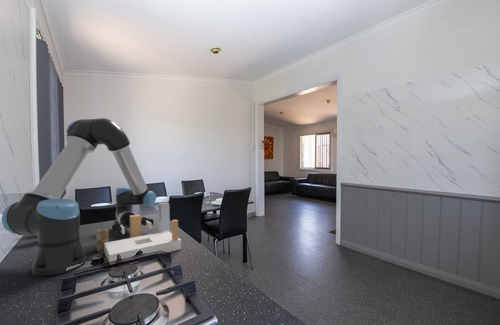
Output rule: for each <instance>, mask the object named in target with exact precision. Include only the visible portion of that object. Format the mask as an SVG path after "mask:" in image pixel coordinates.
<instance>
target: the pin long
mask: <svg viewBox="0 0 500 325" xmlns="http://www.w3.org/2000/svg"><path fill="white" fill-rule="evenodd" d="M170 213H171V212H170V203H169V202H159V203H158V233H160V232H165V231H169V232H171V225H170V224H171V219H170Z"/></svg>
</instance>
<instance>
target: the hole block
mask: <svg viewBox="0 0 500 325" xmlns="http://www.w3.org/2000/svg"><path fill="white" fill-rule="evenodd" d="M170 222H171V231H170V232H169V231H165V232H160V233H159V232H155V233H150V234H145V235H141V236H138V237H133V238H130V237H128V238H123V239H117V240H113V241H109V242H106V243H104V250H103V251H104V255H105V258H106V257H107V258H108V259H109V261H113V260H116V259H117V255H118V254H119V255H120V256H121V258H127V257H131V256H134V255H136V253H137V252H138V251H140V250H141V251H142V252H143V253H147V252H154V251H158V250H162V251H165V252H167V253H170V252H171V253H172V252H174V251H179V250H182V239H181V238H179V220H178V219H172V220H171V219H170ZM107 258H106V259H107Z"/></svg>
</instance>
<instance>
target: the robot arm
mask: <svg viewBox="0 0 500 325" xmlns="http://www.w3.org/2000/svg"><path fill="white" fill-rule="evenodd" d="M65 133H66V138H65V141H66V144H65V146H64V147H63V149H62V150H61V151H60V153H59V155H58V156H57V157H56V158H55V160H54V162H53V163H52V164H51V166H50V167H49V168H48V170H47V171H46V172H45V174H44V175H43V176H42V177H41V179H40V181H39V182H38V183H37V185H36V186H35V188H34V189H33V190H32V191H29V192H25V193H24V195H23V196H22V197H21V199H20V200H19V201H16V202H14V203H12V204H10V205H8V206H7V207H6V208H5V209H4V210H3V212H2V215H1V223H2V226H3V228H4V229H5V230H6V231H7V232H9V233H12V234H15V235H18V236H35V237H37V245H38V246H37V247H38V248H37V251H36V254H35V257H34V260H33V262H32V264H31V274H32V275H33V276H36V277H38V276H39V277H49V276H55V275H59V274H64V273H67V272H66V269H67V267H70V266H74V265H77V264H81V263H84V262H85V263H86V262H87V254H86V252H85V250H84V248H83V245H82V243H81V240H80V239H81V238H80V236H81V234H80V229H81V228H80V225H81V223H80V221H81V220H80V208H79V203H78V202H77V201H76V200H74V199H69V198H68V199H67V198H61V197H62V195H63V193H64V192H65V190H66V188H67V186H69V184H70V182H71V181H72V179H73V178H74V176H75V175H76V172H77V171H78V169H79V168H80V166H81V165H82V163H83V162H84V161H85V159H86V157H87V156H88V154H92V153H94V152H95V150H96V148H97V147H98V145H104V146H106V148H107V150H108V151H109V152H111V153H112V154H113V157H114V159H115V161H116V162H117V166H119V168H120V171H121V172H122V175H123V177H124V179H125V181H126V182H127V185H128V186H119V187H117V188H116V189H115V203H116V204H115V206H116V208H115V210H116V211H115V219H116V220H114V223H113V224H112V225H111V231H112V232H116V233H121V234H122V235H125V229H130V216H131V215H136V214H135V213H133V208H132V207H133V206H145V207H146V206H147V207H148V206H153V205H155V202H156V200H157V195H156V193H155V192H154V191H152V190H150V189H149V188H148V186H147V184H146V181H145V180H144V177H143V175H142V173H141V171H140V168H139V166H138V164H137V161H136V159H135V157H134V154H133V152H132V150H131V148H130V145H131V142H130V140H129V137H128V135H127V134H126V133H125V131H124V130H123V129H122V128H121V126H119V124H117V123H116V122H114V121H113V120H111V119H108V118H105V117H103V118H102V117H101V118H89V119H86V118H84V119H77V120H74V121H72V122H70V124H68V125H67V127H66V131H65ZM153 225H154V219H153V218H150V217H145V216H141V226H146V228H147V229H149V230H153V229H152V228H153V227H152V226H153ZM85 263H84V264H85Z"/></svg>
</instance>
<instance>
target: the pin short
mask: <svg viewBox="0 0 500 325" xmlns="http://www.w3.org/2000/svg"><path fill="white" fill-rule="evenodd" d="M95 232H96V235H95V236H96V250H97V252H100V251H104V243H106V242H110V241H109V228H108V227H105V228H100V229H99V228H97V229H96V231H95Z"/></svg>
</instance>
